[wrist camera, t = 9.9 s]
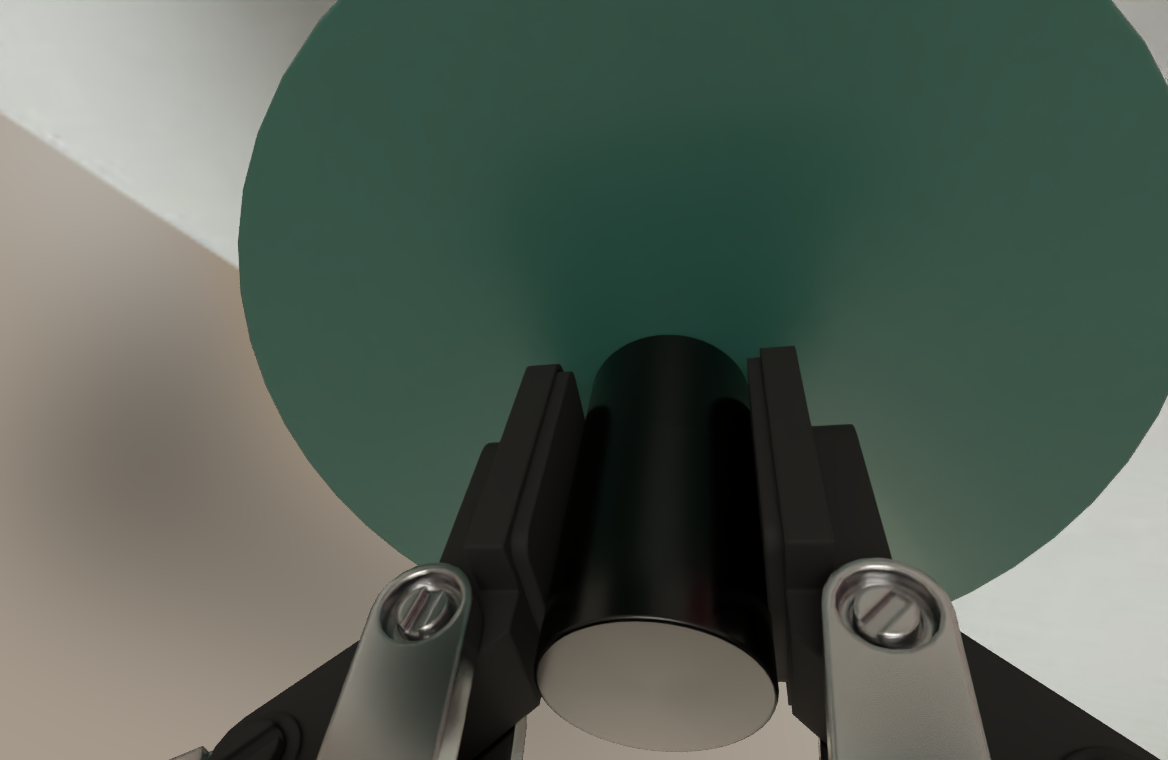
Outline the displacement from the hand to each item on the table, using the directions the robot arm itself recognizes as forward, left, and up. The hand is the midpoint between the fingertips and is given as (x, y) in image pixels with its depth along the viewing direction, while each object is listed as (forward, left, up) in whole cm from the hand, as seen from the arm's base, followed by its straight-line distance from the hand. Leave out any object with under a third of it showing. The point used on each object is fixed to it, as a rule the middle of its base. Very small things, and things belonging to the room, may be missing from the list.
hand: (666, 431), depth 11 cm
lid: (0, 0, -1) cm, 1 cm away
